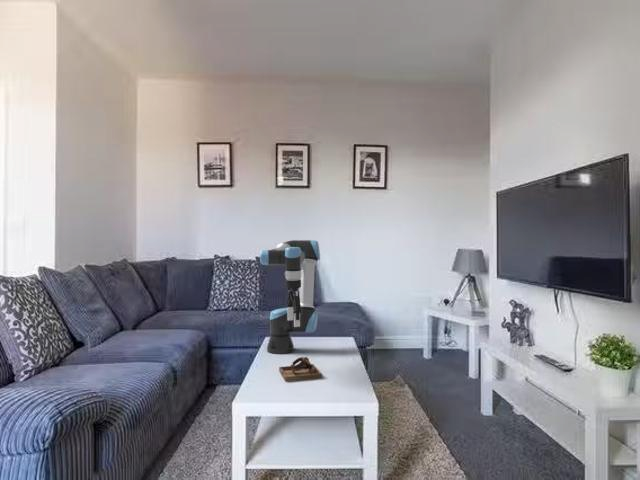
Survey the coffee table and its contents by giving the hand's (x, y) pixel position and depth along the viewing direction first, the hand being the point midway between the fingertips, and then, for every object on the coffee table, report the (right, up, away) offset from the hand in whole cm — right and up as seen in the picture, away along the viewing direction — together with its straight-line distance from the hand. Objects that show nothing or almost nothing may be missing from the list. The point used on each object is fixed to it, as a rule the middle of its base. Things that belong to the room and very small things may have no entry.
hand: (293, 323), depth 200 cm
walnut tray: (+3, -22, -8) cm, 24 cm away
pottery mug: (+5, -22, -8) cm, 23 cm away
